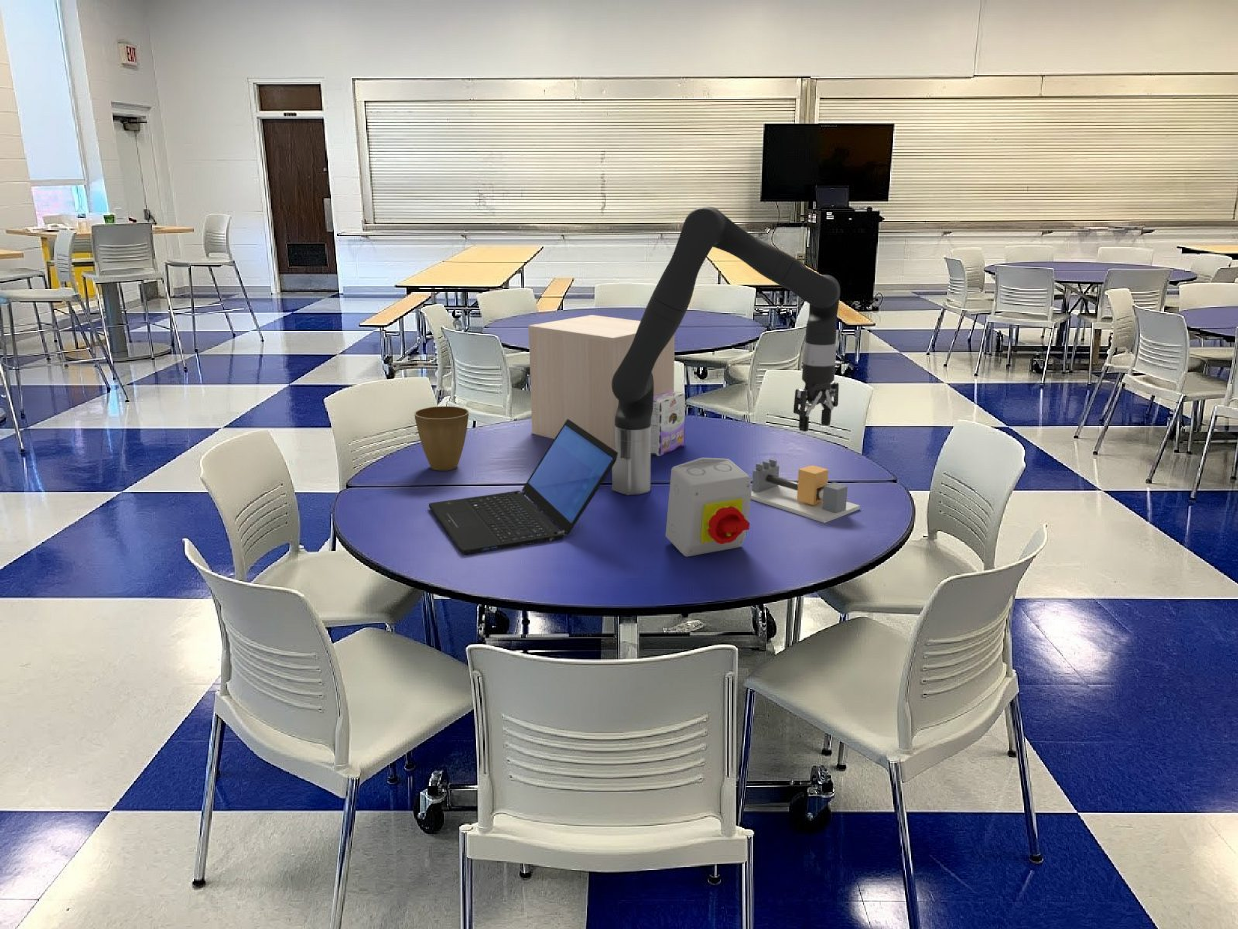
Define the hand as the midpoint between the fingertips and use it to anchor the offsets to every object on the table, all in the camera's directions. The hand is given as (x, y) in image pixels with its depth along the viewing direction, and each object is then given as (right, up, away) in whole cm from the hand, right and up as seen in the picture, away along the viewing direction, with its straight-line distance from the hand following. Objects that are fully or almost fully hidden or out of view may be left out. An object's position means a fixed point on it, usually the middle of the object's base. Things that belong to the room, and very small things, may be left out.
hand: (814, 427), depth 227 cm
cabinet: (-52, +1, +71) cm, 88 cm away
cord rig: (-2, -18, +8) cm, 20 cm away
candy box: (-34, -4, +54) cm, 64 cm away
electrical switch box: (-27, -28, -21) cm, 44 cm away
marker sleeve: (0, -18, +5) cm, 18 cm away
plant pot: (-96, -10, +38) cm, 104 cm away
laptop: (-71, -22, -2) cm, 74 cm away
